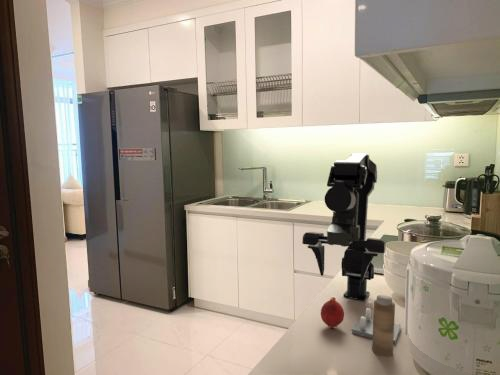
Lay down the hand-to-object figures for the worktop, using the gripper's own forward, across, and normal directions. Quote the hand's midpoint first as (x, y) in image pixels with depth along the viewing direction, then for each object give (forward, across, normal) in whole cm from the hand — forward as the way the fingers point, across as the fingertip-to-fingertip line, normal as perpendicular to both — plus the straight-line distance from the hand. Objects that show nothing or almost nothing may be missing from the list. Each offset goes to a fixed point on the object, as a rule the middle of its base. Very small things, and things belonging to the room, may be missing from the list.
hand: (341, 278), depth 85 cm
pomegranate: (+14, -3, +6) cm, 15 cm away
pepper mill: (+15, +10, 0) cm, 18 cm away
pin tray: (+13, +8, +9) cm, 18 cm away
